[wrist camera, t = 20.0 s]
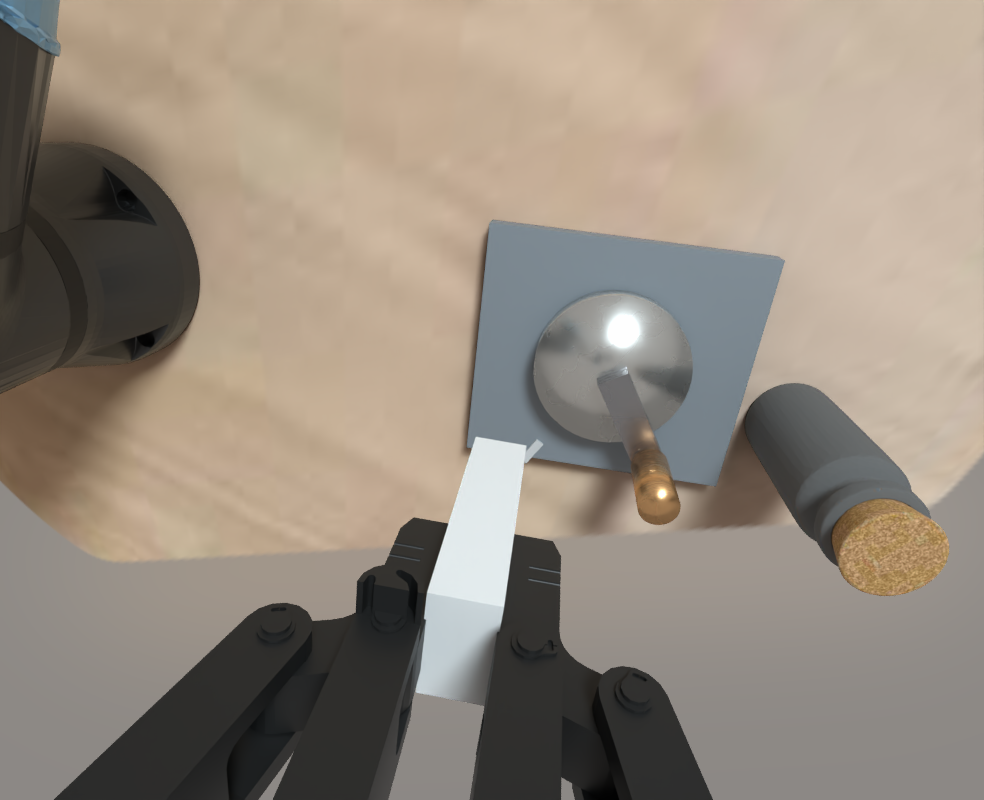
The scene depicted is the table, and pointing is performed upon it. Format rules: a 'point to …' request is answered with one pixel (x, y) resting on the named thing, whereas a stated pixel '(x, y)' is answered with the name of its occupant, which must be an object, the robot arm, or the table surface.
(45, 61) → the robot arm
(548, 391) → the dial
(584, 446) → the board
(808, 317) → the table surface
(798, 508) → the bottle
